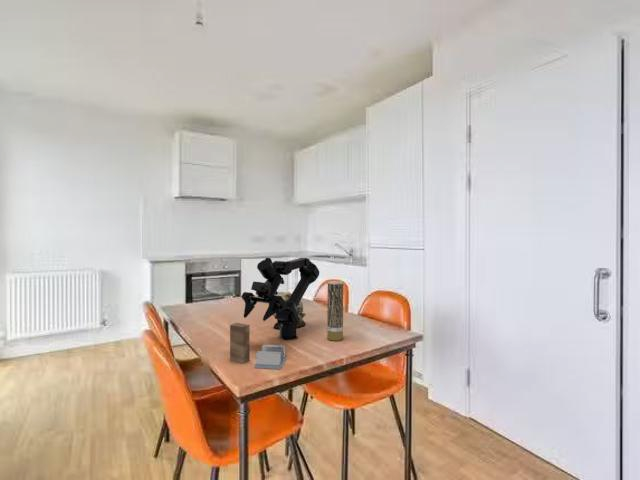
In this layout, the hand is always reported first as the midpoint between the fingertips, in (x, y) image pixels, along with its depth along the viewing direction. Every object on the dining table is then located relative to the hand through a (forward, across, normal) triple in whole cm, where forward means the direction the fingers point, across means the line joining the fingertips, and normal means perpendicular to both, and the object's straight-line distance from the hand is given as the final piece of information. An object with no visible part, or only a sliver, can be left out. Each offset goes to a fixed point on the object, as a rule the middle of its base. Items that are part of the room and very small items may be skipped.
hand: (253, 318), depth 133 cm
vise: (+11, +11, +8) cm, 17 cm away
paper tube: (-13, +19, +32) cm, 40 cm away
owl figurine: (-18, -10, +37) cm, 43 cm away
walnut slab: (+15, 0, +4) cm, 16 cm away
